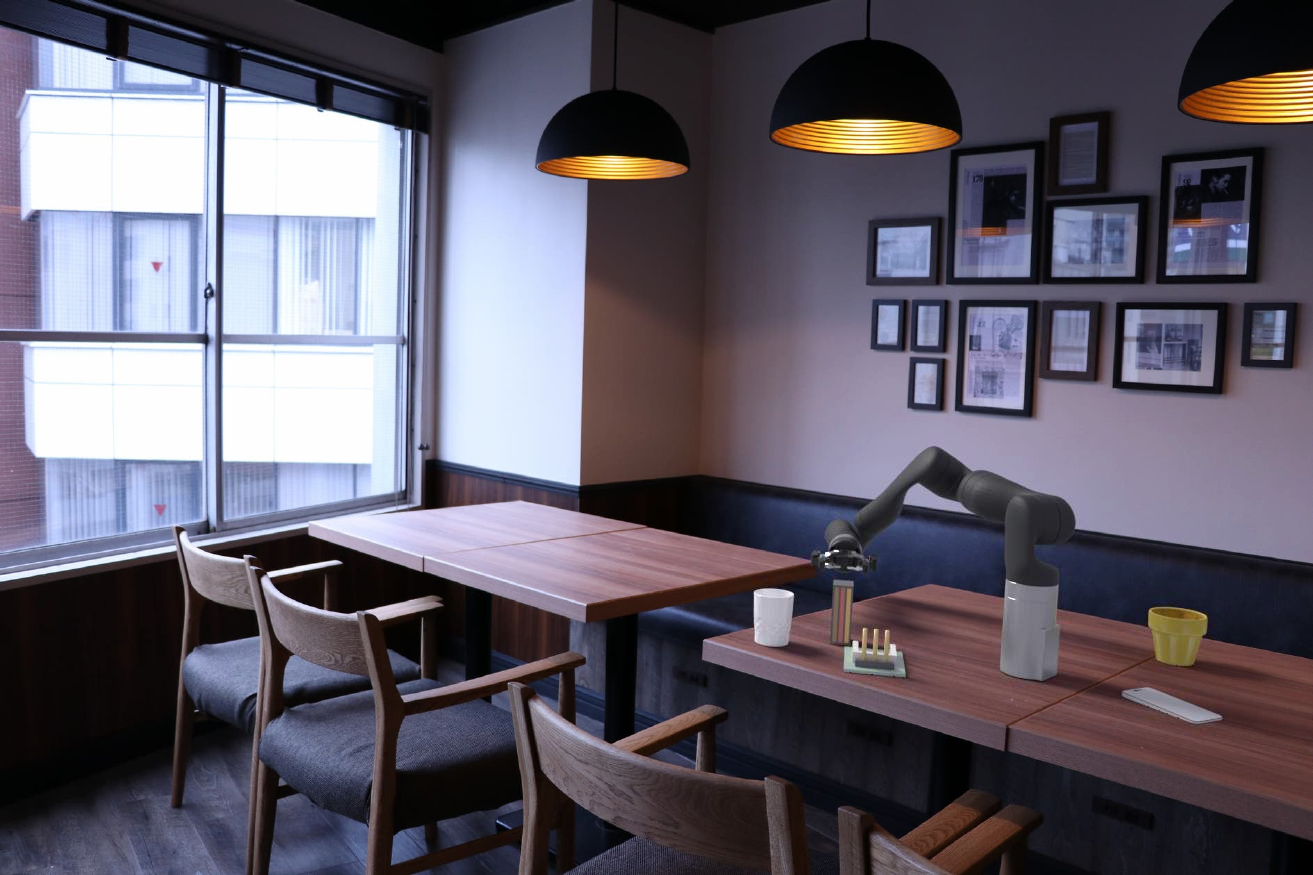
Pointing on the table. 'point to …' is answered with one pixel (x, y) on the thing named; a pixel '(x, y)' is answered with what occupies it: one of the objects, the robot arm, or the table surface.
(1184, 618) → the plant pot
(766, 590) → the white cup
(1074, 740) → the table surface
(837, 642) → the block
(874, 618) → the table surface
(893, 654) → the header board
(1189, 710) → the smartphone
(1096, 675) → the table surface
